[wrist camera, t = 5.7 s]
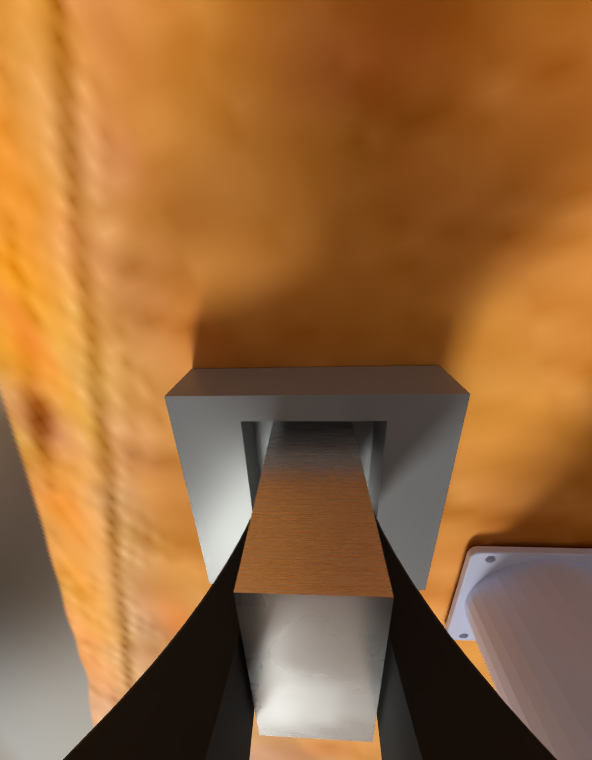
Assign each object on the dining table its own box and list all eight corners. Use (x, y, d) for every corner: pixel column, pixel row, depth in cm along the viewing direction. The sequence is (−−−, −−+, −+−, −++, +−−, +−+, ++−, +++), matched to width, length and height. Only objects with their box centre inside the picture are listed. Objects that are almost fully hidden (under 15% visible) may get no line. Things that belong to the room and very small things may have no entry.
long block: (349, 411, 12) (393, 597, 5) (345, 521, 14) (372, 742, 8) (275, 412, 12) (233, 592, 6) (283, 520, 14) (259, 734, 8)
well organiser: (439, 365, 12) (470, 393, 9) (408, 540, 16) (425, 590, 13) (191, 368, 12) (164, 396, 10) (224, 536, 16) (209, 583, 14)
